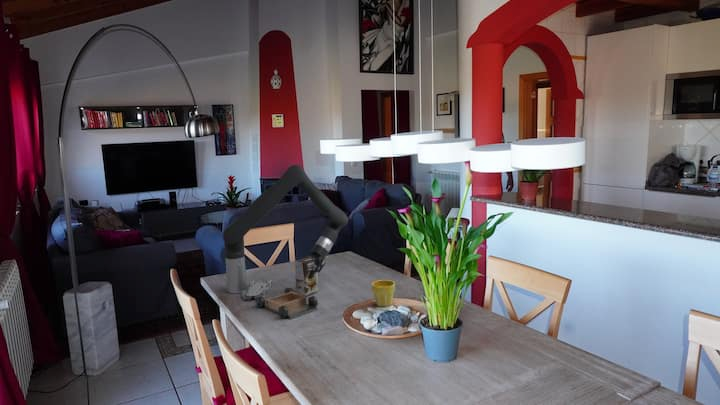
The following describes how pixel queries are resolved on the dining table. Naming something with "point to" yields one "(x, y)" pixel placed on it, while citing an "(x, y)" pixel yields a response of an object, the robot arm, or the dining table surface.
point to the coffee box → (305, 276)
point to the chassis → (289, 304)
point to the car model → (256, 290)
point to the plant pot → (383, 292)
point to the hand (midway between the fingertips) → (304, 276)
